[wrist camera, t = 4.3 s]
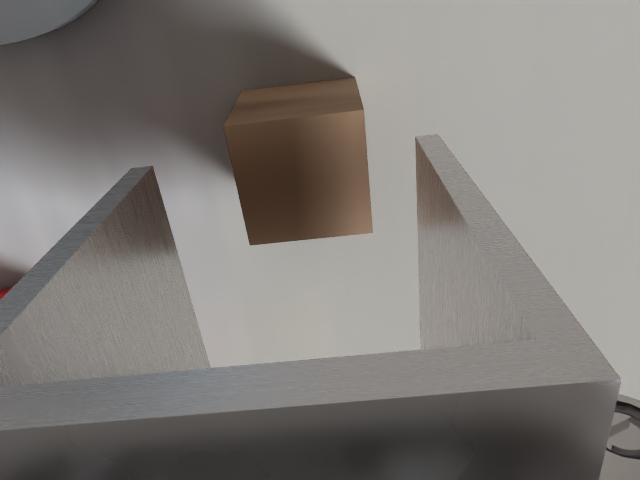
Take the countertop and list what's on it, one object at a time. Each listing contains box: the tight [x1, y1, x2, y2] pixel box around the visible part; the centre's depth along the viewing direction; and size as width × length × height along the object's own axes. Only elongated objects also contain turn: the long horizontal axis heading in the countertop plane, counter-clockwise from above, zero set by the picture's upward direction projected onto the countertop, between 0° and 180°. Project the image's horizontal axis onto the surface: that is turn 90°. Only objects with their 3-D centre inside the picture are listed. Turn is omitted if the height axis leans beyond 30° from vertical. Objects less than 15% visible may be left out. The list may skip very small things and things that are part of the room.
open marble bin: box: [0, 134, 621, 480], centre depth 9 cm, size 7×7×8 cm
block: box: [223, 77, 373, 245], centre depth 17 cm, size 4×4×4 cm
